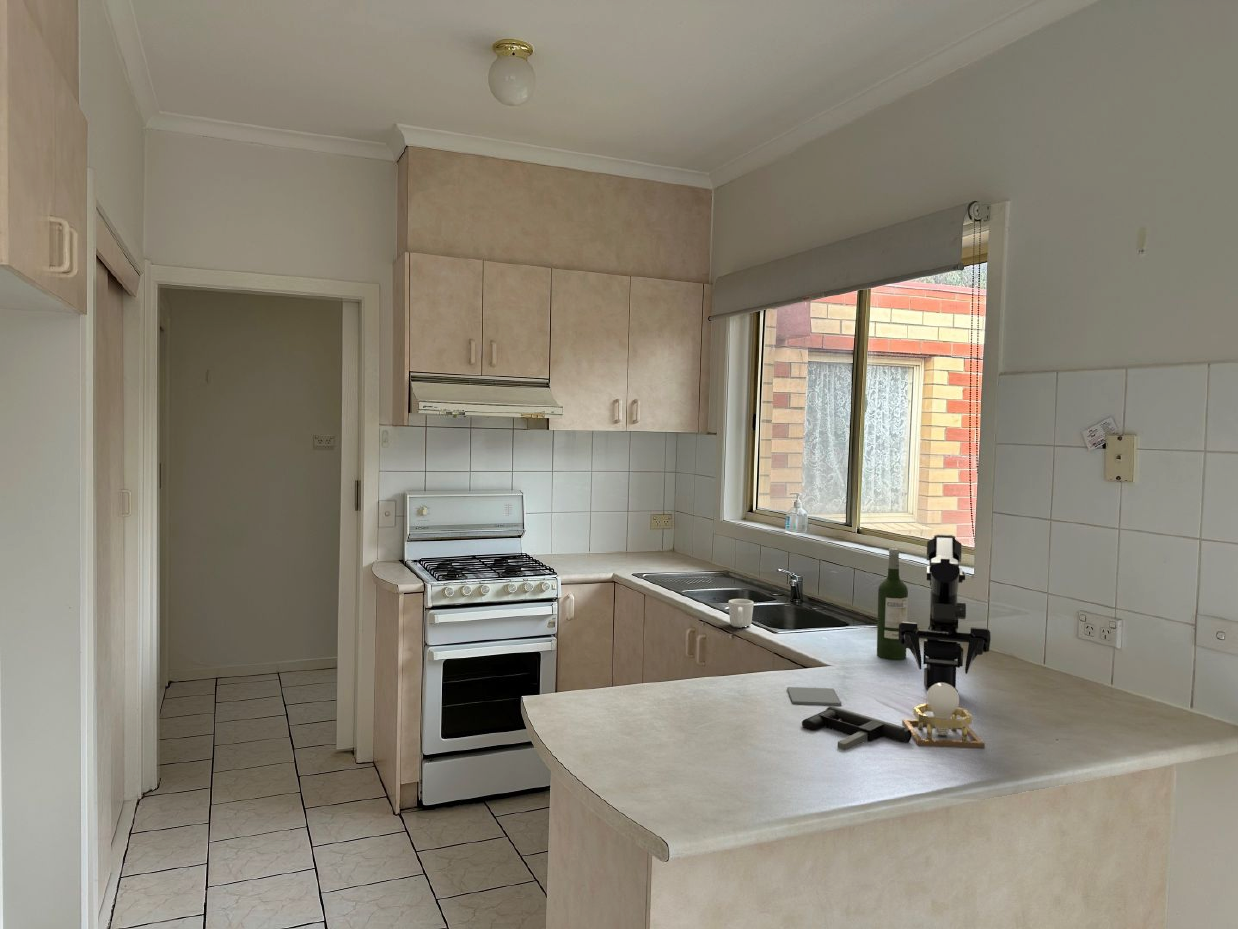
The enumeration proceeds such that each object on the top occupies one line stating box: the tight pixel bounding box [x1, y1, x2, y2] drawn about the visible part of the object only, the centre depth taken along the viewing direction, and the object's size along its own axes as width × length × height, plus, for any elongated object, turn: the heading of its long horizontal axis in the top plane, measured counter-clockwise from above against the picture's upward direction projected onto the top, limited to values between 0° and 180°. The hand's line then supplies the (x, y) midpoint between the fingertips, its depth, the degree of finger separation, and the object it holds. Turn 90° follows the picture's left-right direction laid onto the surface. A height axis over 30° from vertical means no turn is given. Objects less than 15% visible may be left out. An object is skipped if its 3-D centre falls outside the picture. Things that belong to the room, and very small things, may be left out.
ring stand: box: [901, 702, 986, 749], centre depth 182 cm, size 13×13×5 cm
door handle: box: [801, 705, 912, 751], centre depth 182 cm, size 3×20×16 cm
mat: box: [787, 686, 842, 706], centre depth 207 cm, size 11×11×1 cm
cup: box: [728, 598, 755, 629], centre depth 277 cm, size 11×8×8 cm
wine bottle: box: [876, 548, 909, 661], centre depth 244 cm, size 8×8×30 cm
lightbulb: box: [926, 683, 960, 737], centre depth 182 cm, size 6×6×11 cm
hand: (943, 670), depth 187 cm, fingers open, 9 cm apart
